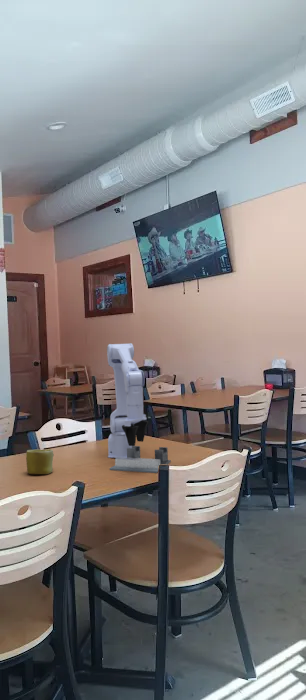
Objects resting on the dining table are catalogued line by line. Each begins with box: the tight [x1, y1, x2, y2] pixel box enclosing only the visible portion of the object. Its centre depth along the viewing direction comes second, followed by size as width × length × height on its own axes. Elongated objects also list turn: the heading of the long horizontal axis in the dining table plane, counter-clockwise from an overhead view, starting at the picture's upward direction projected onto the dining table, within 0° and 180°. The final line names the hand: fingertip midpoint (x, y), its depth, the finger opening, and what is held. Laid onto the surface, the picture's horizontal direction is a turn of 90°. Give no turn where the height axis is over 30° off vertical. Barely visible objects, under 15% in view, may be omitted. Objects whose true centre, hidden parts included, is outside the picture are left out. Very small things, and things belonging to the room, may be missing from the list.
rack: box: [127, 445, 172, 465], centre depth 210 cm, size 16×6×6 cm, turn 68°
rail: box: [114, 457, 160, 470], centre depth 201 cm, size 16×3×3 cm
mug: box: [25, 448, 55, 475], centre depth 201 cm, size 12×10×10 cm
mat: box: [109, 465, 159, 474], centre depth 201 cm, size 18×7×1 cm, turn 69°
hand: (136, 443), depth 201 cm, fingers open, 7 cm apart
